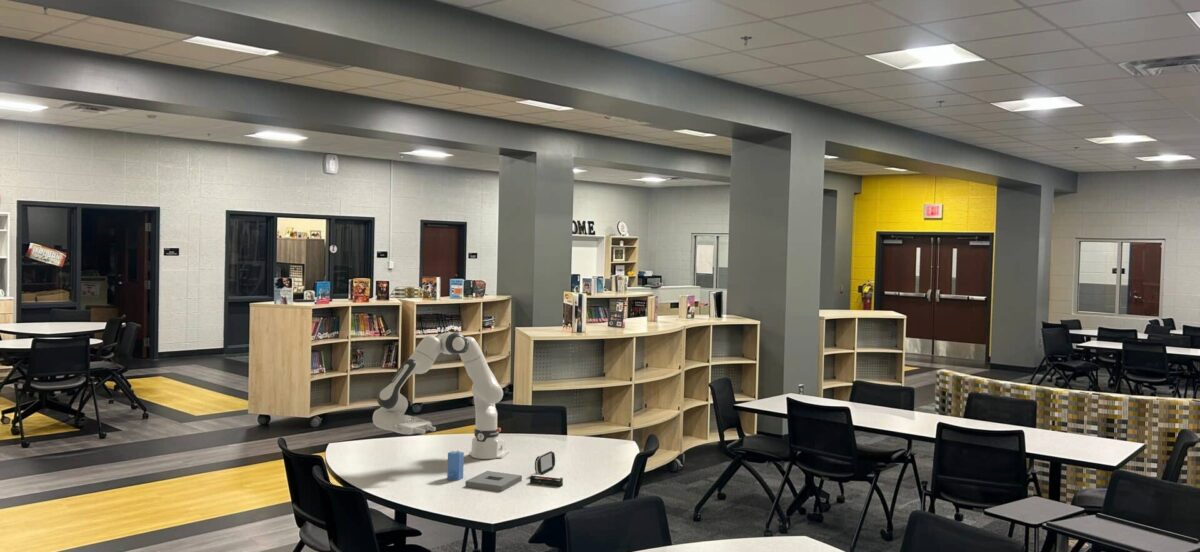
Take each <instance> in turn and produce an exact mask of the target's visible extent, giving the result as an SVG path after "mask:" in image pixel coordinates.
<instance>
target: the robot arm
mask: <svg viewBox="0 0 1200 552" xmlns="http://www.w3.org/2000/svg"><path fill="white" fill-rule="evenodd" d="M440 354H442V355H443V354H444V355H459V357H460V359H461V363H462V364H463V367H464V369H465V372H466V373H467V375H468V377H469V379H470V380H471V381H472V386H471V393H472V395H473V402H474V410H475V428H474V431H473V433H474V434H473V435H474V437H473V438H472V440H471V450H470V451H468V452H469V453H468V454H469V455H470V456H471V458H474V459H478V460H480V459H481V460H493V459H494V460H495V459H502V458H504V457H505V456H506V455H507V454H509V453H510V450H509V449H506V447H505V446H506V443H505V440H504V439H503V438H502V437H501V436H500V433H501V431H502V429H501V427H498V410H497V407H496V404H498V403H500V402H501V400H502V399H503V398H504V397H503V396H504V390H503V388H502V387H501V386H500V383H499V382H498V380H497V378H496V376H495V374H494V373H493V372H492V370H491V368H490V367H489V365H488V364H489V363H488V362H487V360H486V357H485V355H484V352H483V350H482V349H481V346H480V345H479V343H478V342H477V340H476V339H475V338H474V337H472V336H464V335H463V334H461V333H459V332H452V331H449V332H441V333H438V334H437V335H436V336H435V335H431V334H429V335H425V336H424V337H423V338H422V340H420V342H419V343H418V345H417V346H416V347H415V349H414V351H413V353H412V354H411V355H410V356H409V358H407V359H405V361H403V363H402V364H401V365H400V366H399V367H398V368H397V370H396V372H394V375H393V376H392V377H391V379H390V380H389V381H388V382H387V383H386V385H383V387H382V388H380V390H379V392H378V393H377V396H376V401H377V403H378V405H379V406H380V407H379V408H377V409H375V410H374V412H373V414H372V422H373V425H375V427H377V428H378V429H379V428H380V429H382V430H385V431H393V432H395V433H396V434H397V433H398V434H402V435H409V436H411V435H414V434H421V435H424V434H426V432H427V431H430V432H436V430H437V429H436V426H433V425H432V422H431V421H429V420H427V419H424V418H423V419H422V418H419V417H418V416H415V415H408V414H405V413H406V411H407V410H408V407H409V401H408V398H406V397H405V395H403V394H402V393H400V391H401V388H402V387H403V386H404V384H405V383H406V381H407V380H408V379H409V377H410V376H412V375H422V374H426V373H428V371H429V370H430V369H431V368H432V366H433V364H435V361H436V359H437V357H438V356H439V355H440Z"/></svg>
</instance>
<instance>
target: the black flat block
mask: <svg viewBox="0 0 1200 552" xmlns="http://www.w3.org/2000/svg"><path fill="white" fill-rule="evenodd" d="M563 480H564V477H560V476H553V475H545V474H542V475H538V474H531V475H530V476H529V485H530V484H531V485H541V486H546V487H547V486H548V487H550V486H551V487H558V488H561V487H563V485H564V484H563V483H564V481H563Z"/></svg>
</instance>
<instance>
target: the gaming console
mask: <svg viewBox="0 0 1200 552" xmlns="http://www.w3.org/2000/svg"><path fill="white" fill-rule="evenodd" d="M555 466H556V455H555V452H554V451H552V450H550V451H546V452H545V453H544V452H543V453H542V454H540V455H538V456H536V458H535V460H534V471H535V474H536V475H545V474H546V473H549V472H551V471H552V470H554V468H555Z"/></svg>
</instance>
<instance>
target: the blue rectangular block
mask: <svg viewBox="0 0 1200 552" xmlns="http://www.w3.org/2000/svg"><path fill="white" fill-rule="evenodd" d="M464 457H465V453H464V451H461V449H457V450H455V451H454V450H452V451H451V450H450V451H449V452H447V469H446V470H447V477H446V479H447V480H453V481H461V480H462V479H464V462H465V459H464Z"/></svg>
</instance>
